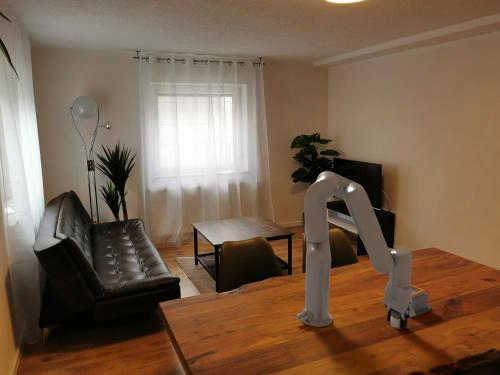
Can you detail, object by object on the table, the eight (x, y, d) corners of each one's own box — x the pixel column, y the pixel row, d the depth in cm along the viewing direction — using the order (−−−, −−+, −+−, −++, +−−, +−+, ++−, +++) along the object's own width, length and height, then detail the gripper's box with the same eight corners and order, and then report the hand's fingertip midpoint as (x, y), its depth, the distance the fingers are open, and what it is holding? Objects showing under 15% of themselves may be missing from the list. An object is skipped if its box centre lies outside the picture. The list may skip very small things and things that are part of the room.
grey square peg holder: (410, 318, 159) (412, 299, 157) (384, 305, 170) (386, 286, 168) (432, 309, 166) (433, 290, 164) (406, 297, 177) (407, 279, 175)
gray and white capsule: (397, 329, 151) (398, 315, 150) (387, 324, 155) (388, 310, 154) (405, 326, 153) (406, 312, 152) (395, 320, 157) (396, 307, 156)
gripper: (375, 275, 156) (373, 316, 159) (412, 291, 141) (408, 337, 145) (388, 271, 160) (385, 312, 163) (425, 287, 145) (421, 331, 149)
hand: (396, 323), depth 154 cm, fingers open, 5 cm apart
